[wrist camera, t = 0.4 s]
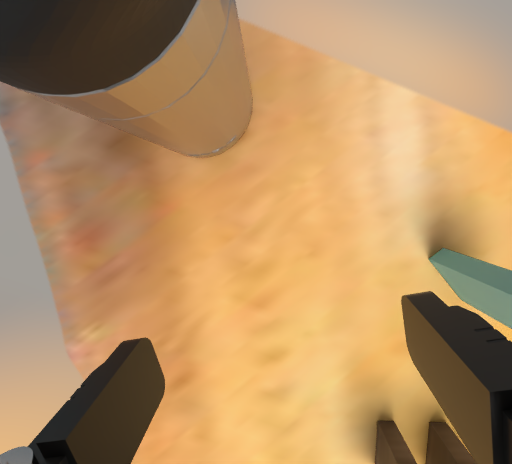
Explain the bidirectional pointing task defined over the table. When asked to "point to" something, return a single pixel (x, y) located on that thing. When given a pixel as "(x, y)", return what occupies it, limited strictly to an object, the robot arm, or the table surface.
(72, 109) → the robot arm
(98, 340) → the table surface
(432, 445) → the domino
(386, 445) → the domino
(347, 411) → the table surface
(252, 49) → the table surface
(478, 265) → the domino
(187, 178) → the table surface
